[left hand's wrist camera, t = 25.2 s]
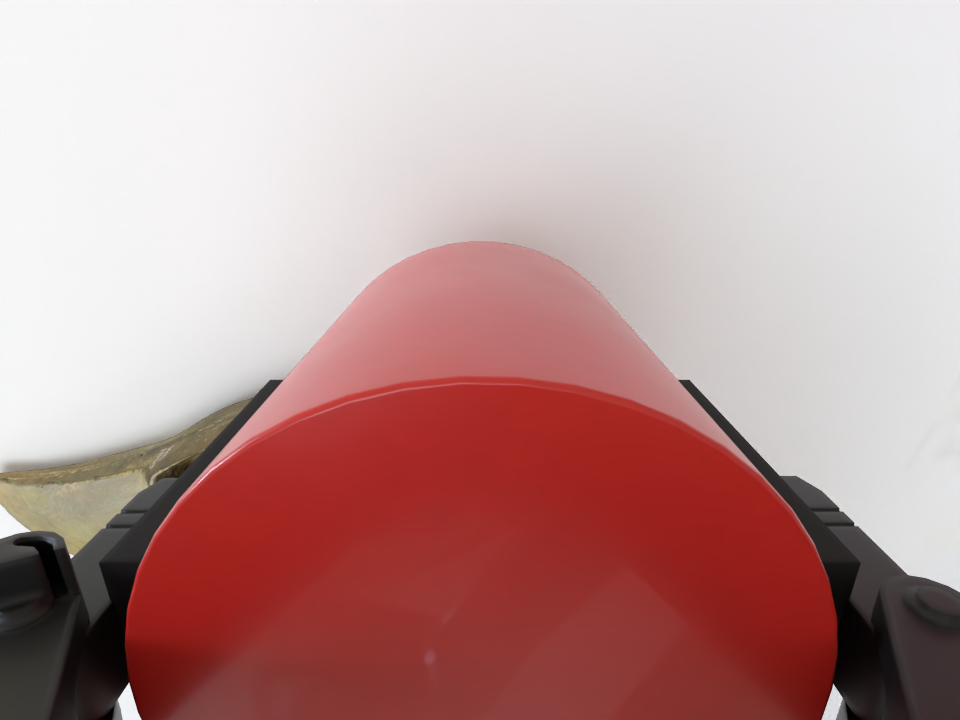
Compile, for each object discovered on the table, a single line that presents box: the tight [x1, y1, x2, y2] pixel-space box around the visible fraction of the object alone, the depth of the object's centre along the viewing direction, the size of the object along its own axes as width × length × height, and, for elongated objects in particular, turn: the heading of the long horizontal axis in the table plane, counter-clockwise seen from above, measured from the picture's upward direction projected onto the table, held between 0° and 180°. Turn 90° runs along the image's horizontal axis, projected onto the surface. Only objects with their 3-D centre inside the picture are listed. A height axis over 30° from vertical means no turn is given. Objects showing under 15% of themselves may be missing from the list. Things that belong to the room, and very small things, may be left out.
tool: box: [0, 398, 253, 556], centre depth 26 cm, size 22×6×5 cm, turn 110°
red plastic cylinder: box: [125, 242, 838, 720], centre depth 11 cm, size 9×9×9 cm
